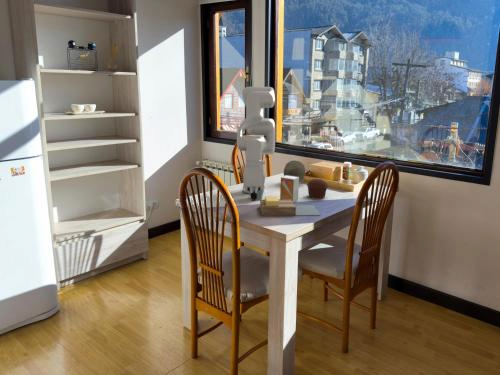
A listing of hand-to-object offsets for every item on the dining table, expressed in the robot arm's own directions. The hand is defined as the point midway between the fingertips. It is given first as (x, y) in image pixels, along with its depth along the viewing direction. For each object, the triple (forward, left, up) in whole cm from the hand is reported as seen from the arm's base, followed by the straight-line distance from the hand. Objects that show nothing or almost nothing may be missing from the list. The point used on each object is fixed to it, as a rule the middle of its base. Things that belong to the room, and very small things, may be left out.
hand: (253, 200), depth 205 cm
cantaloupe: (-55, +30, -6) cm, 63 cm away
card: (0, +9, -2) cm, 9 cm away
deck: (0, +12, -6) cm, 13 cm away
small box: (-19, +21, -6) cm, 29 cm away
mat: (0, +26, -6) cm, 27 cm away
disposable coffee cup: (-23, +3, -6) cm, 24 cm away
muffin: (-26, +38, -6) cm, 47 cm away
